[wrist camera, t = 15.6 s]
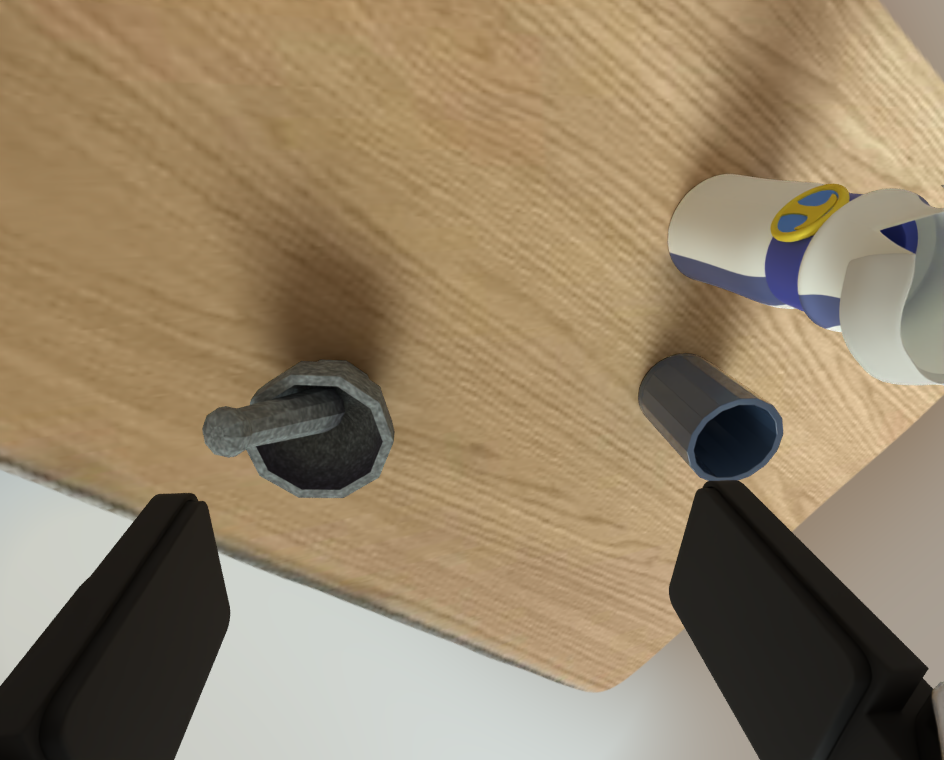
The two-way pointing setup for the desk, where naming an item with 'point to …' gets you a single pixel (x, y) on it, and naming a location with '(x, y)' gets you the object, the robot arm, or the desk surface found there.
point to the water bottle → (826, 263)
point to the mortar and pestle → (310, 430)
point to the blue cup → (710, 417)
